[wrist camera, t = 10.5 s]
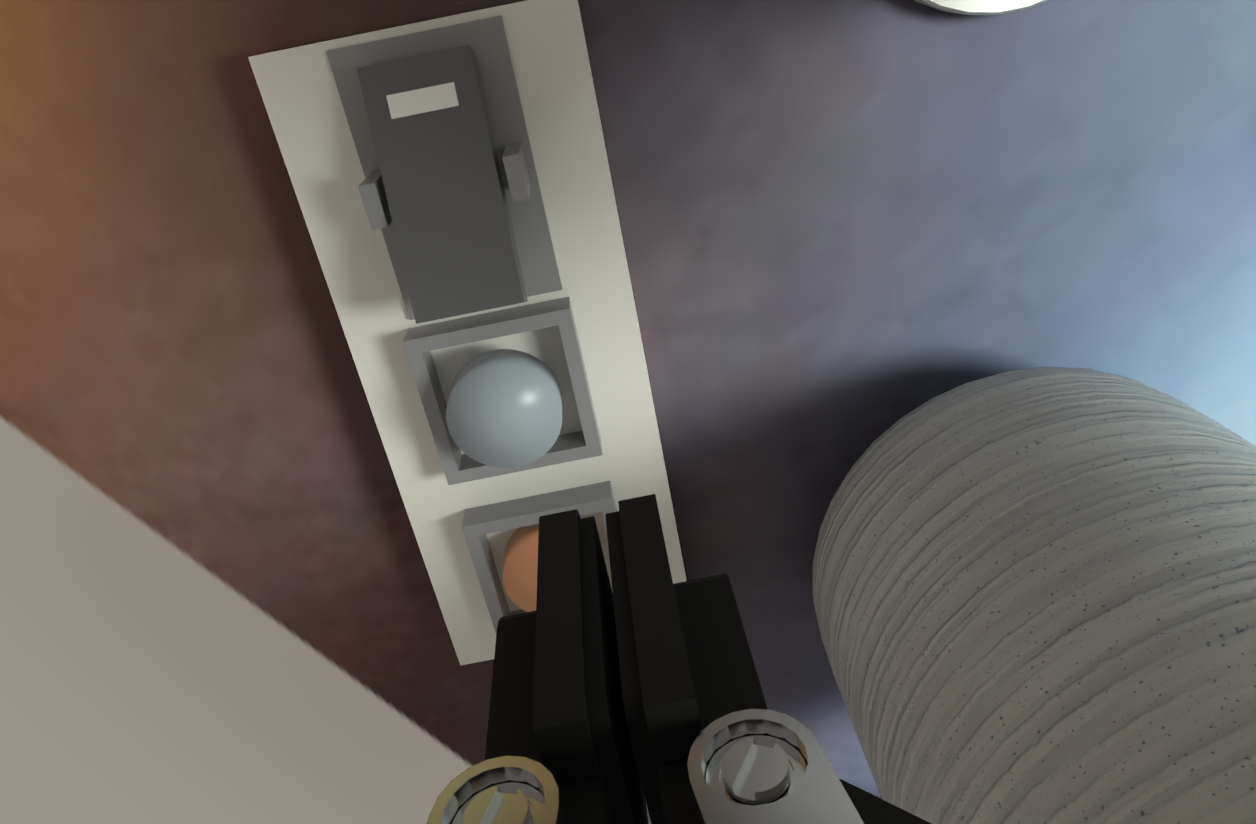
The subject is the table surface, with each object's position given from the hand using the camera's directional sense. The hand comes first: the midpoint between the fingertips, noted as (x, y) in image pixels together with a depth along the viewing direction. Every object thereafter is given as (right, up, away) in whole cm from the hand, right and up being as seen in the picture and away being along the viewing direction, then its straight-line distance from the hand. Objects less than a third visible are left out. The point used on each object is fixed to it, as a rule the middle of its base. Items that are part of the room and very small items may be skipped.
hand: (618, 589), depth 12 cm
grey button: (-5, +3, +24) cm, 25 cm away
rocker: (-6, +11, +19) cm, 23 cm away
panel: (-5, +5, +27) cm, 28 cm away
